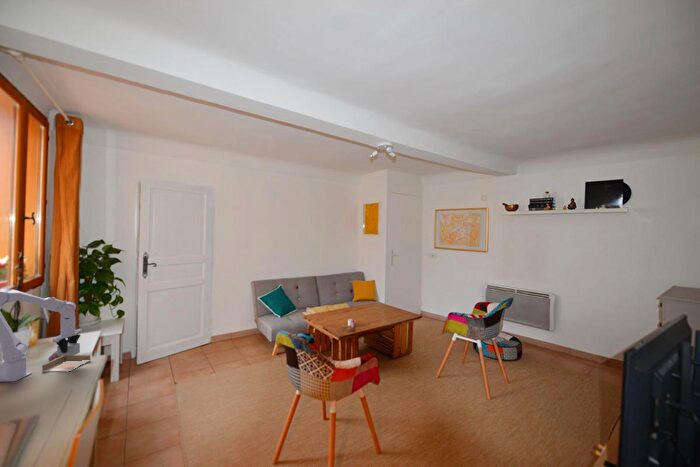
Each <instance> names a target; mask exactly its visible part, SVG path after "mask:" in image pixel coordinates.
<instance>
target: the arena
mask: <svg viewBox="0 0 700 467" xmlns="http://www.w3.org/2000/svg"><path fill="white" fill-rule="evenodd" d="M82 360H90V361H91V354H76V355H73V356H61V357H59V358H55V359H54V360H52V361H48V362H46V363H43V364H42V366H41V367H42V371H41V372H42V373H45V372H46V373H47V372H48V373H51V372H53V373H55V372H56V373H59V372H60V373H61V372H62V373H68V371H71V372H73V371H74V370H73V369H75V368H76V369H78V368H77V365H76V366H75V365H73V366H72V365H70V364H64V363H63V362H66V361H82ZM76 369H75V370H76ZM72 370H73V371H72ZM65 371H66V372H65Z"/></svg>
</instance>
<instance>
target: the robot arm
mask: <svg viewBox="0 0 700 467" xmlns="http://www.w3.org/2000/svg"><path fill="white" fill-rule="evenodd" d="M17 301H20V302H24V303H29V304H34V305H39V306H40V308H41V309H44V310H48V311H51V312H56V313H57V312H58V313H59V314H60V319H59V321H60V322H59V323H60V334H59V335H58V336H56V337H53V338H52V343H53V344H56V345H57V346H59V348H60V350H61V352H62V353H67V346H68V343H78V341H79V340H80V339H79V338H81V334H82V333H83V329H82V328H78V329H76V312H75V310H76V307H77V305H76V302H75V303H74V302H72V301H67V300H66V299H65V300H61V299H57V298H56V297H54V296H52V297H50V296H49V297H46V298H44V297H40V296H36V295H33V294H30V293H27V292H24V291H20V290H17V289H11V288H9V287H8V288H7V287H5V288H4V287H3V288H0V345H1V352H2V360H1V361H0V382H17V381H19V380H22V379H23V378H26V377H28V376H30V375H32V374H33V373H32V372H27V355H25V353H26V352H27V350H28V346H27V345H26V344H25V343H23V342H22V341H21V340H20V339H19V338H17V337H16V335H15V333H14V332H13V330H12V328H11V327H10V325H9V324H8V322H7V320H6V318H5V316H4V315H3V313H2V312H1V310H2V308H3V307H4V305H5V304H6V303H7V302H8V303H12V302H17Z"/></svg>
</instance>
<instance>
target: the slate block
mask: <svg viewBox="0 0 700 467" xmlns="http://www.w3.org/2000/svg"><path fill="white" fill-rule="evenodd" d="M80 344H81V343H80V342H77V343H68V346H67V353H62V352H61V350H60V348H59V346H58V345H57V346H56V347H57V350H56V351H57V356H73V355H79V354H80V353H81V347H80V346H81V345H80Z"/></svg>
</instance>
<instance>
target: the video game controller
mask: <svg viewBox="0 0 700 467" xmlns="http://www.w3.org/2000/svg"><path fill="white" fill-rule="evenodd" d="M59 357H61V356H57V350H55V351H54V352H53V353H52V354H51V355H50V356H49V357H48V362H50V361H52V360H54V359H57V358H59Z"/></svg>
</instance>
